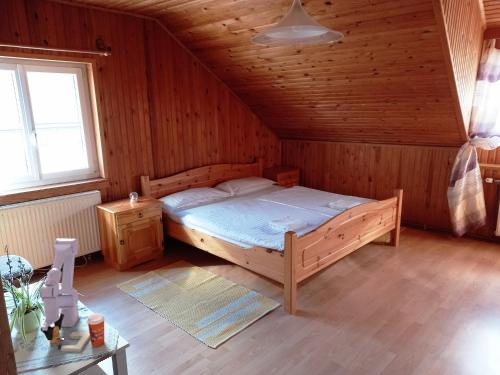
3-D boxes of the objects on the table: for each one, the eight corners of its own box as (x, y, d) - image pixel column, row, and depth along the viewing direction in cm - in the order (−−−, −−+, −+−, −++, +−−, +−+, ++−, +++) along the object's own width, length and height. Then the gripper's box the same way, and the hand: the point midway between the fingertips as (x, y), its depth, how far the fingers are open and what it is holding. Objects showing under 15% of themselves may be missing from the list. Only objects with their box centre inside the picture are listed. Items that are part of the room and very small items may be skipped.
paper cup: (93, 351, 167) (90, 324, 163) (86, 343, 172) (83, 316, 168) (109, 343, 172) (107, 317, 169) (102, 335, 177) (100, 310, 174)
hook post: (58, 347, 169) (57, 337, 167) (65, 347, 169) (64, 337, 167) (56, 349, 167) (55, 340, 166) (63, 349, 167) (62, 340, 166)
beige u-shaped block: (73, 334, 177) (72, 331, 177) (91, 335, 178) (91, 332, 177) (61, 351, 166) (60, 348, 165) (80, 351, 166) (80, 348, 166)
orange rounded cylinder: (52, 337, 175) (51, 325, 174) (62, 337, 175) (60, 325, 174) (48, 343, 171) (46, 331, 169) (57, 343, 171) (56, 331, 169)
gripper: (50, 300, 176) (53, 325, 179) (33, 317, 162) (37, 344, 165) (65, 300, 176) (68, 325, 179) (49, 318, 162) (52, 344, 165)
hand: (54, 334), depth 172 cm, fingers open, 7 cm apart
